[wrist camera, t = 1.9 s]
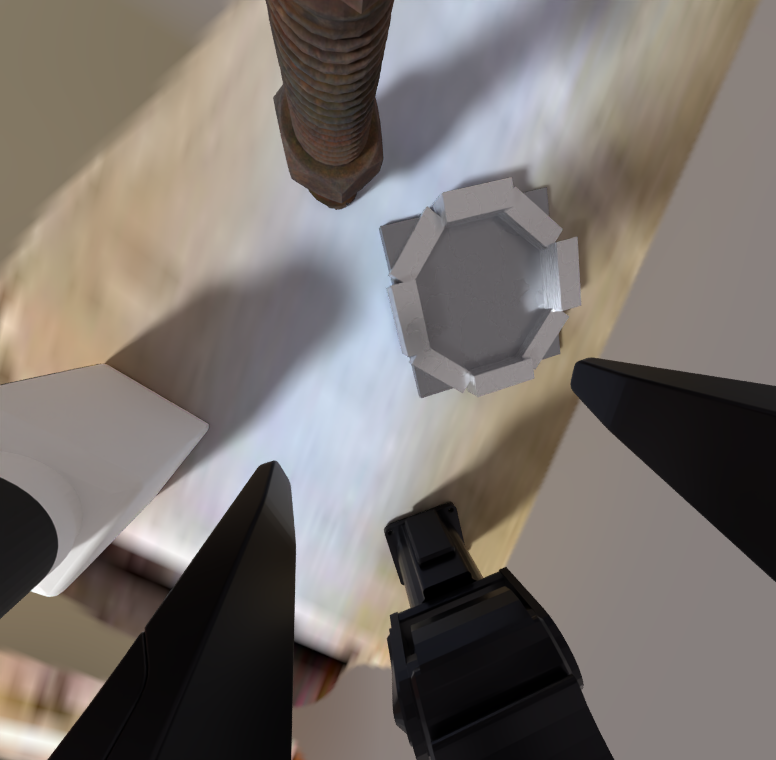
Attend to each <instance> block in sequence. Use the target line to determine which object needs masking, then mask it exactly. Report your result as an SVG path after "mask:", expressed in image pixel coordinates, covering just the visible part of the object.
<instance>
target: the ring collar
mask: <svg viewBox="0 0 776 760" xmlns="http://www.w3.org/2000/svg"><path fill="white" fill-rule="evenodd" d="M433 208H434V211H432V210H431V209H430V208H429V207H426V208H425V209H424V211H423V212H422V214H421V216H420V217H418V218H413V219H409V220H405V221H401V222H396V223H392V224H388V225H384V226H380V228H379V231H380V235H381V239H382V244H383V248H384V252H385V256H386V260H387V264H388V269H389V274H388V276H389V277H391V281H392V286H389V287H387V288H386V289H387V293H388V297H389V301H390V305H391V310H392V314H393V318H394V322H395V326H396V330H397V334H398V338H399V342H400V346H401V350H402V354H404V355H406V356H407V357H410V361H409V363H411V364H412V369H413V373H414V377H415V381H416V385H417V389H418V394H419V396H420V397H421V398H424V397H427V396H430V395H433V394H436V393H439V392H442V391H445V390H449V389H452V388H455V389H457V390H458V391H460V392H462V393H463V392H464V390H465V389H466V387H467V391H468V392H470V393H472V394H474V395H475V396H477V397H479V396H482V395H485V394H488V393H492V392H495V391H498V390H501V389H504V388H507V387H510V386H513V385H516V384H519V383H522V382H525V381H528V380H531V379H534V371H533V369H536V368H537V366H538V364H539V363H540V361H541V360H542V359H546V358H549V357H552V356H555V355H558V354H560V345H559V332H560V330H561V328H562V327H563V325H564V324H565V322H566V321H567V319H568V318H569V316H568V315H566V314H565V313H564V312H562V311H564V310H567V309H571V308H574V307H577V306H581V291H580V273H579V255H578V237H574V238H570V239H566V240H562V241H559V242H556V240H557V238H558V237H559V235H560V233H561V232H562V230H563V229H562V228H561V227H560V226H559V225H558V224H557V223H556V222H555V221H553V220H552V219H551V218H550V217H549V208H548V195H547V187H545V188H541V189H537V190H532V191H528V192H524V193H522V192H521V191H520V190H519V189H518V188H517V187H516V186H514V187H513V181H512V177H510V178H505V179H501V180H496V181H492V182H488V183H483V184H479V185H474V186H470V187H465V188H461V189H457V190H452V191H448V192H443V193H441V195H440V196H439V197H438V198H437V199H436V200H435V201H434V202H433Z"/></svg>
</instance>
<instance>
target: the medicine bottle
mask: <svg viewBox="0 0 776 760" xmlns="http://www.w3.org/2000/svg"><path fill="white" fill-rule="evenodd" d="M208 428H209V425H208V424H207V423H206V422H205V421H203V420H201V419H199V418H198V417H196V416H194V415H193V414H191V413H189V412H187V411H186V410H184V409H182V408H181V407H179V406H177V405H176V404H174V403H172V402H170V401H169V400H167V399H165V398H164V397H162V396H160V395H158V394H157V393H155V392H153V391H152V390H150V389H148V388H146V387H145V386H143V385H141V384H140V383H138V382H136V381H135V380H133V379H131V378H129V377H128V376H126V375H124V374H123V373H121V372H119V371H117V370H116V369H114V368H112V367H111V366H109V365H107V364H96V365H91V366H86V367H82V368H77V369H72V370H67V371H63V372H58V373H53V374H48V375H44V376H39V377H34V378H29V379H25V380H20V381H15V382H10V383H6V384H1V385H0V618H2V617H3V616H4V615H5V614H6V613H7V612H8V611H9V610H10V609H12V608H13V607H14V606H15V605H16V604H17V603H18V602H19V601H20V600H21V599H22V598H23V597H25V596H26V595H27V594H28V593H29V592H30V591H32V592H35V593H38V594H41V595H44V596H47V597H52V596H57V595H58V594H60V593H61V592H63V591H64V590H65V589H66V588H67V587H68V586H69V585H70V584H71V583H72V582H73V581H74V580H75V579H76V578H77V577H78V576H79V575H80V574H81V573H82V572H83V571H84V570H85V569H86V568H87V567H88V566H89V565H90V564H91V563H92V562H93V561H94V560H95V559H96V558H97V557H98V556H99V555H100V554H101V552H102V551H103V550H104V549H105V548H106V547H107V546H108V545H109V544H110V543H111V542H112V541H113V540H114V539H115V538H116V537H117V536H118V535H119V534H120V533H121V532H122V531H123V530H124V529H125V528H126V527H127V526H128V525H129V524H130V523H131V522H132V521H133V520H134V519H135V518H136V517H137V516H138V515H139V514H140V513H141V511H142V510H143V509H144V508H145V507H146V506H147V505H148V504H149V503H150V502H151V501H152V500H153V499H154V498H155V496H156V495H157V494H158V493H159V491H160V490H161V489H162V488H163V486H164V485H165V484H166V482H167V481H168V480H169V479H170V477H171V476H172V475H173V474H174V472H175V471H176V470H177V469H178V467H179V466H180V465H181V463H182V462H183V461H184V460H185V458H186V457H187V456H188V455H189V453H190V452H191V451H192V450H193V448H194V447H195V446H196V444H197V443H198V442H199V441H200V439H201V438H202V437H203V436H204V434H205V433H206V432H207V431H208Z"/></svg>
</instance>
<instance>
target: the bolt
mask: <svg viewBox="0 0 776 760" xmlns="http://www.w3.org/2000/svg"><path fill="white" fill-rule="evenodd" d="M393 3H394V0H266V4H267V9H268V15H269V21H270V26H271V30H272V35H273V40H274V44H275V49H276V53H277V58H278V62H279V66H280V69H281V75H282V80H283V85H282V86H281V88H280V89H279V90H278V92H277V93H276V95H275V96H274V97H273V99H274V104H275V110H276V115H277V119H278V124H279V129H280V133H281V138H282V143H283V147H284V152H285V156H286V160H287V164H288V168H289V172H290V175H291V178H292V179H293V180H295V181H296V182H298V183H299V184H301V185H302V186H304V187H305V188H307V189H308V190H309V192H310V193H311V194H312V195H313V196H314V197H315V198H316V200H318V201H320V202H321V203H323V204H325V205H327V206H328V207H329V208H335V209H336V210H337V209H342V208H345V207H347V206H346V203H348V204H349V203H351V202H352V201H353V200H354V199H355V197H356V194H357V192H358V191H360V190H361V189H362V188H363V187H364V186H365V185H366V184H367V183H369V182H370V181H371V180H372V179H373V178H374V176H375V175H376V174H377V173H378V172H379V171H380V168H381V165H382V162H383V147H382V135H381V125H380V118H379V112H378V106H377V102H376V98H375V96H376V90H377V86H378V82H379V78H380V72H381V66H382V60H383V56H384V50H385V45H386V40H387V36H388V30H389V26H390V20H391V12H392V7H393Z"/></svg>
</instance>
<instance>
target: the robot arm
mask: <svg viewBox="0 0 776 760" xmlns="http://www.w3.org/2000/svg"><path fill="white" fill-rule="evenodd" d="M570 385H571V389H572V391H573V392H574V393H575V394H576V395H577V396H578V397H579V399H580V400H581V401H582V402H583V403H584V404H585V405H586V406H587V407H588V408H589V409H590V411H591V412H592V413H593V414H594V415H595V416H596V417H597V418H598V419H599V420H600V421H601V422H602V424H603V425H604V426H605V427H606V428H607V429H608V430H609V431H610V432H611V433H612V434H613V435H615V436H616V437H617V438H618V439H619V440H620V441H621V442H622V443H623V444H624V445H625V446H627V447H628V448H629V449H630V450H631V451H632V452H633V453H634V454H635V455H636V456H638V457H639V458H640V459H641V460H642V461H643V462H644V463H645V464H646V465H648V466H649V467H650V468H651V469H652V470H653V471H654V472H655V473H656V474H657V475H659V476H660V477H661V478H662V479H663V480H664V481H665V482H666V483H667V484H668V485H669V486H671V487H672V488H673V489H674V490H675V491H676V492H677V493H678V494H679V495H680V496H682V497H683V498H684V499H685V500H686V501H687V502H688V503H689V504H690V505H691V506H693V507H694V508H695V509H696V510H697V511H698V512H699V513H700V514H701V515H702V516H704V517H705V518H706V519H707V520H708V521H709V522H710V523H711V524H712V525H713V526H715V527H716V528H717V529H718V530H719V531H720V532H721V533H722V534H723V535H724V536H726V537H727V538H728V539H729V540H730V541H731V542H732V543H733V544H734V545H736V547H738V548H739V549H740V550H741V551H742V552H743V553H744V554H745V555H746V556H747V557H749V558H750V559H751V560H752V561H753V562H754V563H755V564H756V565H757V566H759V567H760V568H761V569H762V570H763V571H764V572H765V573H766V574H767V575H768V576H769V577H771V578H772V579H773V580H774V581H775V582H776V386H772V385H765V384H758V383H753V382H746V381H740V380H733V379H727V378H720V377H714V376H708V375H702V374H695V373H688V372H682V371H676V370H669V369H662V368H656V367H650V366H644V365H637V364H631V363H624V362H618V361H612V360H605V359H599V358H586V359H583V360H580V361H578V362H577V363H576V364H575V366H574V370H573V374H572V379H571V384H570ZM450 508H451V509H450ZM449 509H450V510H449ZM391 530H392V531H391ZM389 531H391V532H389ZM384 533H385V536H386V539H387V542H388V545H389V549H390V552H391V555H392V558H393V561H394V564H395V567H396V570H397V573H398V576H399V579H400V582H401V584H402V585H405V589H406V592H407V596H408V600H409V604H410V609H407V610H405V611H403V612H400V613H398V612H396V613H393V614H391V615H390V620H391V628H390V629H389V631H390V635H389V636H388V638H387V641H388V648H389V654H390V660H391V668H392V695H393V714H394V719H395V722H396V725H397V726H398V727H399V728H401V729H402V730H403V731H404V732H405V733H406V734H407V736H408V739H409V743H410V745H411V746H412V747H413V749H414V753H415V756H416V759H417V760H614V758H613V756H612V754H611V753H610V751H609V749H608V747H607V745H606V743H605V741H604V739H603V737H602V735H601V733H600V731H599V729H598V727H597V725H596V723H595V721H594V719H593V716H592V714H591V712H590V710H589V708H588V706H587V704H586V701H585V698H584V696H583V693H582V691H581V689H583V685H584V684H583V679H582V676H581V673H580V670H579V667H578V665H577V663H576V660H575V658H574V656H573V654H572V652H571V650H570V648H569V646H568V644H567V642H566V641H565V639H564V637H563V635H562V634H561V632H560V631H559V629H558V627H557V626H556V624H555V623H554V621H553V620H552V619H551V617H550V616H549V614H548V613H547V612H546V611H545V610H544V608H542V606H541V605H540V604H539V603H538V602H537V601H536V600H535V599H534V598H533V596H532V595H531V594H530V593H529V592H528V591H527V590H526V589H525V588H524V586H523V585H522V584H521V583H520V582H519V581H518V580H517V579H516V577H515V576H514V575H513V574H512V573H511V572H510V571H509V570H508V569H507V567H505V568H502V569H500V570H499V572H497V573H494V574H492V575H489V576H487V577H485V578H483V577H482V575H481V573H480V571H479V569H478V568H477V566H476V564H475V562H474V561H473V559H472V557H471V555H470V554H469V552H468V550H467V548H466V547H465V544H464V540H463V535H462V531H461V527H460V522H459V518H458V513H457V509H456V507H455V505H454V504H453V503H451V502H449V503H446V504H443V505H440V506H438V507H435V508H432V509H430V510H427V511H424V512H422V513H419V514H416V515H414V516H411V517H408V518H406V519H403V520H400V521H398V522H395V523H392V524H389V525H387V526H386V527H385V529H384ZM295 569H296V539H295V527H294V516H293V505H292V494H291V485H290V482H289V479H288V477H287V476H286V474H285V473H284V471H283V469H282V468H281V466H280V464H279V463H278V462H277V461H270V462H267V463H264V464H262V465H260V466H259V467H258V468H257V469H256V471H255V472H254V474H253V475H252V476H251V478H250V479H249V481H248V482H247V483H246V485H245V486H244V488H243V489H242V491H241V492H240V493H239V495H238V496H237V498H236V499H235V500H234V502H233V503H232V505H231V506H230V508H229V509H228V510H227V512H226V513H225V515H224V516H223V517H222V519H221V520H220V522H219V523H218V525H217V526H216V527H215V529H214V530H213V532H212V533H211V534H210V536H209V537H208V539H207V540H206V542H205V543H204V544H203V546H202V547H201V549H200V550H199V551H198V553H197V554H196V556H195V557H194V559H193V560H192V561H191V563H190V564H189V566H188V567H187V568H186V570H185V571H184V573H183V574H182V576H181V577H180V578H179V580H178V581H177V583H176V584H175V585H174V587H173V588H172V590H171V591H170V593H169V594H168V595H167V597H166V598H165V600H164V601H163V602H162V604H161V605H160V607H159V608H158V610H157V611H156V612H155V614H154V615H153V617H152V618H151V619H150V621H149V622H148V624H147V625H146V627H145V632H142V633H141V634H140V635H139V636H138V638H137V639H136V640H135V642H134V643H133V645H132V646H131V647H130V649H129V650H128V652H127V653H126V655H125V656H124V657H123V659H122V660H121V662H120V663H119V664H118V666H117V667H116V669H115V670H114V671H113V673H112V674H111V676H110V677H109V678H108V680H107V681H106V682H105V684H104V685H103V686H102V688H101V689H100V691H99V692H98V693H97V695H96V696H95V697H94V699H93V700H92V702H91V703H90V704H89V706H88V707H87V708H86V710H85V711H84V712H83V714H82V715H81V716H80V718H79V719H78V720H77V722H76V723H75V724H74V726H73V727H72V728H71V729H70V731H69V732H68V733H67V735H66V736H65V737H64V739H63V740H62V741H61V743H60V744H59V745H58V747H57V748H56V749H55V750H54V752H53V753H52V754H51V756H50V757H49V758H48V760H291V744H292V701H293V657H294V613H295Z"/></svg>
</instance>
